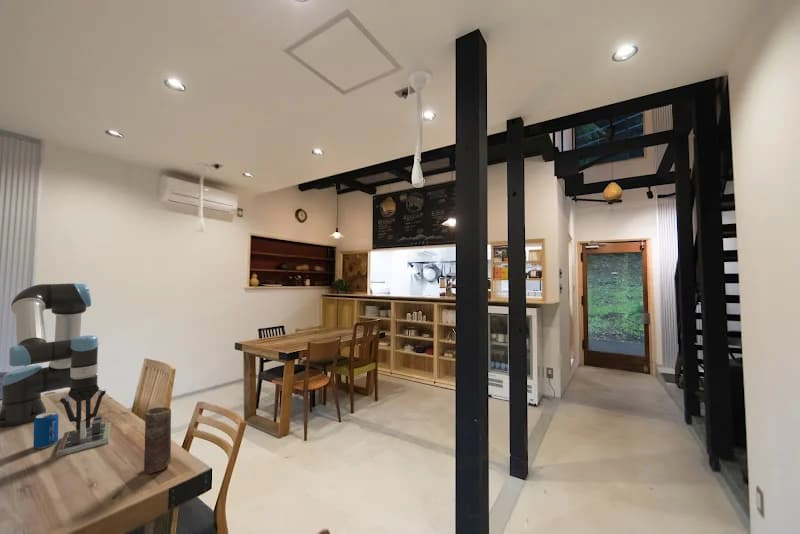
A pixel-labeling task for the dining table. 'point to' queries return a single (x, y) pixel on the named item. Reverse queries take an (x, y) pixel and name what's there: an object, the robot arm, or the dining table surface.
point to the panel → (84, 440)
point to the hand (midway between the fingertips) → (83, 436)
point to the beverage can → (46, 430)
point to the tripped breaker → (75, 437)
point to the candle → (157, 439)
